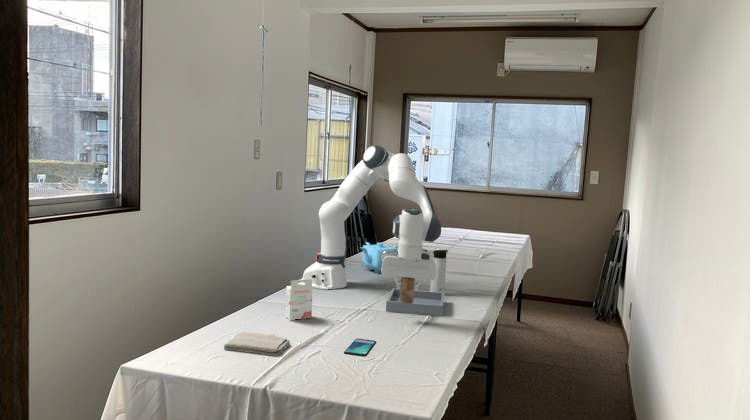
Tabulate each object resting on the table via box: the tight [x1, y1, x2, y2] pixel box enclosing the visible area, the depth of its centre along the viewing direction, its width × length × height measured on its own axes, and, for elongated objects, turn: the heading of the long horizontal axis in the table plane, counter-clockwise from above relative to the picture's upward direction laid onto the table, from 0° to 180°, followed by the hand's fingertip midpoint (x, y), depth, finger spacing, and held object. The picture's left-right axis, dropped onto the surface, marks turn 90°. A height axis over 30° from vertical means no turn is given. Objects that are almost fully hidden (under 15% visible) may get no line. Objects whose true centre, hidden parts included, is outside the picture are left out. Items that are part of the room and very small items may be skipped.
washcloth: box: [223, 331, 291, 356], centre depth 183 cm, size 12×18×3 cm, turn 80°
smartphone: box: [343, 338, 377, 357], centre depth 188 cm, size 7×1×15 cm
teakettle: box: [359, 241, 398, 274], centre depth 305 cm, size 19×19×15 cm
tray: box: [385, 287, 445, 317], centre depth 240 cm, size 22×22×4 cm
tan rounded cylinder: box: [400, 277, 416, 304], centre depth 218 cm, size 5×5×9 cm
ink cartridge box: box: [285, 279, 313, 321], centre depth 215 cm, size 9×5×15 cm, turn 117°
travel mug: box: [429, 249, 448, 294], centre depth 262 cm, size 6×7×20 cm
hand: (407, 289), depth 218 cm, fingers closed on tan rounded cylinder, 5 cm apart
